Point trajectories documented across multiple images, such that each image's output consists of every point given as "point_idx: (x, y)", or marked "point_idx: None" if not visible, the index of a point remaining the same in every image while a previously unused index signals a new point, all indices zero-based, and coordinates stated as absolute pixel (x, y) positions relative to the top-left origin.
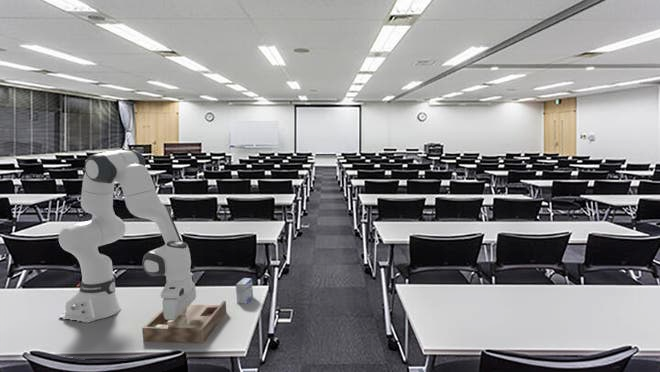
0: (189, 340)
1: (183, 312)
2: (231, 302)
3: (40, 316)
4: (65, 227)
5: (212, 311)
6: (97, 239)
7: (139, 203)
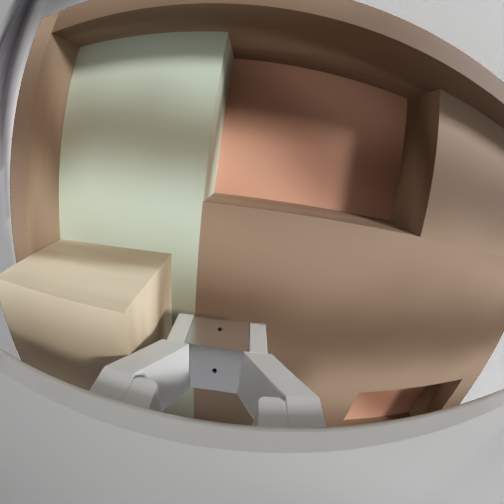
0: None
1: (255, 401)
2: (488, 387)
3: None
4: None
5: (437, 384)
6: None
7: None
